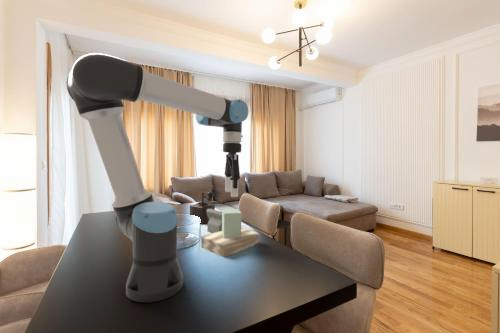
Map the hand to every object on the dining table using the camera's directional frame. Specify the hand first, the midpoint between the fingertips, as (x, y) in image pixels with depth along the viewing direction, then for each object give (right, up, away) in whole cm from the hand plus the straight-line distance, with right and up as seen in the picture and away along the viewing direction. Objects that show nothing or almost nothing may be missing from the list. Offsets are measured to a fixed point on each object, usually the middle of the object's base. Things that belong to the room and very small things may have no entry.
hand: (231, 194), depth 104 cm
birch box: (0, -22, +1) cm, 22 cm away
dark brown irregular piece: (-17, -20, +37) cm, 45 cm away
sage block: (0, -17, +1) cm, 17 cm away
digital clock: (-7, -21, +20) cm, 30 cm away
